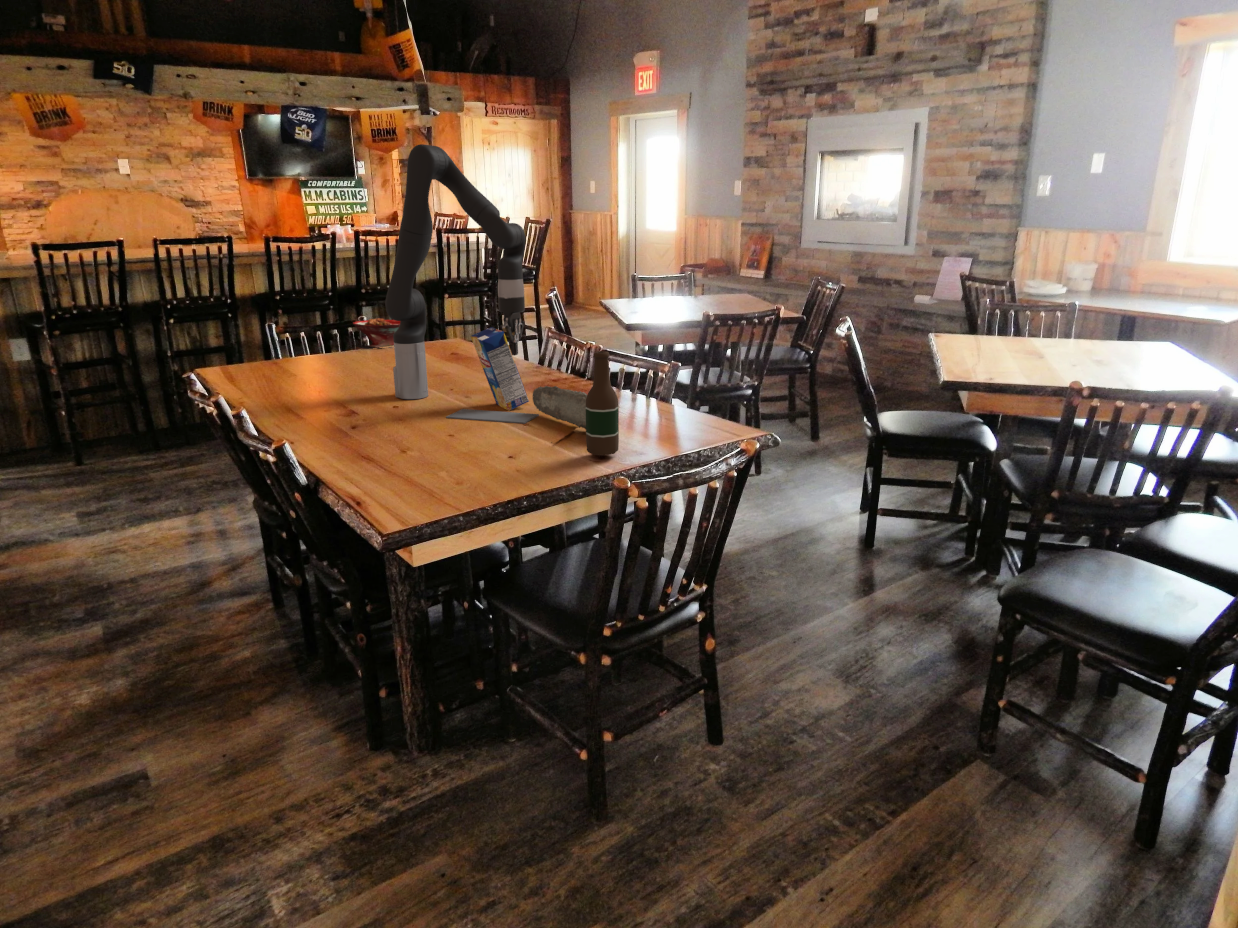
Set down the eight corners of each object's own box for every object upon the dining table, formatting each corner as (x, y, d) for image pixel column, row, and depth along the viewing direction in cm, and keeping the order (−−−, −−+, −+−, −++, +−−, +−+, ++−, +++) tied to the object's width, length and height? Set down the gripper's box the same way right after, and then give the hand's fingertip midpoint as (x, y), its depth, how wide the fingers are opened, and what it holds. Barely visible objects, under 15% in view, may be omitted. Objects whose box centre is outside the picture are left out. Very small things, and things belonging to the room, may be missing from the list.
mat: (445, 418, 231) (445, 416, 231) (462, 410, 240) (462, 408, 240) (524, 423, 224) (524, 422, 224) (538, 415, 234) (538, 414, 233)
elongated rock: (527, 415, 234) (525, 381, 231) (542, 412, 237) (541, 378, 235) (603, 439, 208) (603, 401, 206) (619, 436, 212) (619, 398, 209)
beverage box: (508, 411, 239) (481, 340, 230) (496, 403, 248) (470, 335, 240) (529, 401, 241) (503, 331, 232) (516, 394, 251) (491, 327, 242)
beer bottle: (585, 447, 201) (583, 349, 194) (617, 446, 202) (616, 348, 195) (587, 456, 194) (585, 354, 187) (620, 455, 195) (619, 354, 188)
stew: (429, 347, 358) (426, 309, 353) (405, 356, 335) (402, 316, 330) (369, 345, 363) (365, 308, 358) (341, 354, 340) (337, 315, 335)
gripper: (508, 293, 245) (511, 351, 250) (489, 297, 233) (492, 358, 238) (532, 293, 243) (534, 352, 248) (513, 297, 230) (516, 359, 235)
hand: (513, 355), depth 243 cm, fingers closed
